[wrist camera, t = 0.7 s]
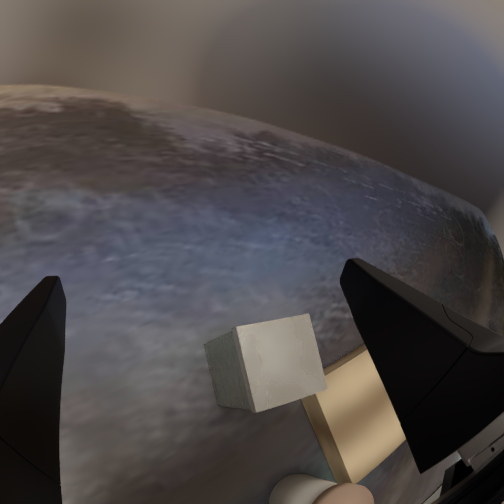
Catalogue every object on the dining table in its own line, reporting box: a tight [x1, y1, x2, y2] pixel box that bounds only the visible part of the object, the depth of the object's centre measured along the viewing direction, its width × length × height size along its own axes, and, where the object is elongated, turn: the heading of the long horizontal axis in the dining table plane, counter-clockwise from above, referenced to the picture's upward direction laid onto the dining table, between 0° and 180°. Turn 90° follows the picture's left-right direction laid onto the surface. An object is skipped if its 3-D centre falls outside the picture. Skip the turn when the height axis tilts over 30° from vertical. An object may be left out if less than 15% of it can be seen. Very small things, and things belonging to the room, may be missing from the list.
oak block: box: [301, 344, 406, 484], centre depth 27 cm, size 11×11×3 cm
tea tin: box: [204, 314, 328, 413], centre depth 22 cm, size 5×5×7 cm
